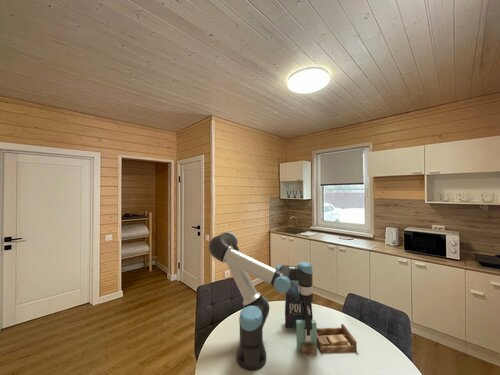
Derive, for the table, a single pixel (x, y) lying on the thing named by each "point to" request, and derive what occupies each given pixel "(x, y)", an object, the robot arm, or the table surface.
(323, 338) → the offcut
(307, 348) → the stand
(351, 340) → the wooden tray
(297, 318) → the dark coffee bag
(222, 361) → the table surface
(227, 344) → the table surface
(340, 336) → the offcut
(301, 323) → the pale green block
